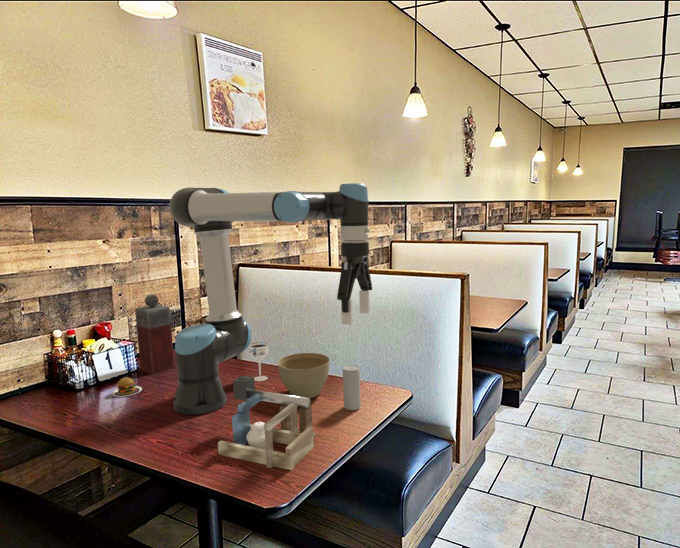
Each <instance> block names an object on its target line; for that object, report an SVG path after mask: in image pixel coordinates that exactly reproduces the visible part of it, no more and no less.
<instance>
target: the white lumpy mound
mask: <svg viewBox="0 0 680 548" xmlns="http://www.w3.org/2000/svg"><path fill="white" fill-rule="evenodd" d="M252 424H253V425H252V427H251V430H250V431H249V432H248V434H247V436H246V438H247V441H248V442H247V444H248V446H251V447H256V448H261V449H266V447H265V430H264V424H265V422H262V421H257V422H254V423H252Z"/></svg>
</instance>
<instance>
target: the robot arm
mask: <svg viewBox="0 0 680 548" xmlns="http://www.w3.org/2000/svg"><path fill="white" fill-rule="evenodd" d="M368 193H369V192H368V186H367V185H366V184H365V183H364V182H363V183H361V182H360V183H359V182H357V183H356V182H355V183H354V182H351V183H348V182H347V183H342V184H340V185H339V189H338V190H337V191H296V190H289V191H288V190H286V191H268V192H264V191H263V192H229V191H227V190H225V189H223V188H218V187H183V188H180V189H178V190H177V191H176V192H175V193H174V194H173V195H172V196H171V198H170V202H169V204H168V205H169V206H168V207H169V212H170V215H171V217H172V219H173V220H174V221H175V222H177V224H179V225H181V226H184V227H187V228H188V227H189V228H193V231H194V232H193V233H194V234H195V235H196V236H197V237H199V241H200V246H201V247H200V249H201V256H202V264H203V271H204V279H205V288H206V295H207V296H206V297H207V305H208V311H209V312H208V314H207V316H206V317H205V319H204V320H205V323H201V324H200V323H198V324H195V325H189V326H187V327H185V328H183V329H181V330H179V331H178V332H177V334H176V335H175V338H174V341H175V342H174V351H175V361H176V370H177V379H178V381H177V387H176V391H175V394H174V395H175V397H174V399H173V409H174V411H175V412H176V413H178V414H181V415H194V416H195V415H203V414H208V413H212V412H214V411H217V410H219V409H221V408H222V407H224V406H225V405H226V403H227V395H226V392H225V390H224V387H223V385H222V383H221V380H220V375H219V364H220V363H223V362H225V361H226V360H227V361H228V360H229V359H232V358H233V357H236V356H239V355H241V354H242V353H243V352H245V351H246V350H247V349H248V348H249V344H251V342H252V336H253V335H252V330H251V326H250V325H249V324H248V322H247V320H245V319H244V318H243V313H242V312H240V311H239V310H238V309H237V299H236V293H235V292H236V291H235V283H234V276H233V275H234V274H233V265H232V258H231V249H230V239H229V235H230V233H231V232H232V231H233V224H232V223H234V222H286V223H299V222H306V221H307V222H310V221H320V220H321V221H322V220H325V221H327V220H339V221H340V223H339V224H340V241H342V242H341V244H340V254H341V255H340V256H342V257H344V258H346V261H341V263H340V264H341V268H340V269H341V270H340V276H339V277H340V278H339V282H338V283H339V284H338V289H337V294H336V295H337V296H336V299H337V301H340V305H341V307H340V308H341V315H340V316H341V324H342V325H349V326H351V325H353V300H352V299H351V297H352V293H353V289H354V285H355V282H356V280H357V282H358V286H359V288H360V290H359V291H358V292H359V293H358V294H359V295H358V296H359V314H370V291H373V284H372V283H373V282H372V279H371V272H370V269H369V261H368V260H369V259H368V256H369V254H370V251H369V250H370V249H369V248H370V245H369V244H370V243H369V242H368V241H369V233H370V232H371V230H370V228H369V201H370V199H369V194H368Z"/></svg>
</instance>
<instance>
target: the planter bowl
mask: <svg viewBox="0 0 680 548" xmlns="http://www.w3.org/2000/svg"><path fill="white" fill-rule="evenodd" d="M330 361H331V359H330V357H329V356H327V355H326V354H322V353H318V352H300V353H299V352H298V353H292V354H289V355H286V356H283V357H281V358H280V359H278V360H277V367H278V372H279V373H278V374H279V377H280V379H281V382H282V384H283V386H284V387H285V389H287V390H288V391H289V395H293V396H299V397H306V398H310V399H312V398H313V399H314V398H315V397H317V396H319V395H320V394H321V392H322V390H323V388H324V385H325V384H326V382H327V379H328V377H329V372H330V363H331V362H330Z"/></svg>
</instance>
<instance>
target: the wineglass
mask: <svg viewBox="0 0 680 548" xmlns="http://www.w3.org/2000/svg"><path fill="white" fill-rule="evenodd" d="M268 346H269V342H266V341H264V342H263V341H258V342H252V343H251V342H250V344H249V346H248V348H249V349H248V354H249V356H250V357H251V358H252V359H253V360H256V361H257V362H258V371H259V374H258V375H259V376H256V377H254V379H255V382H262V381H266V380H268V379H269V378H268V376H265V375H262V373H261V371H262V368H261V367H262V365H261V362H262V360H263V359H266V357H267V356H268V355H269V353H270V349H269V347H268Z"/></svg>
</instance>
